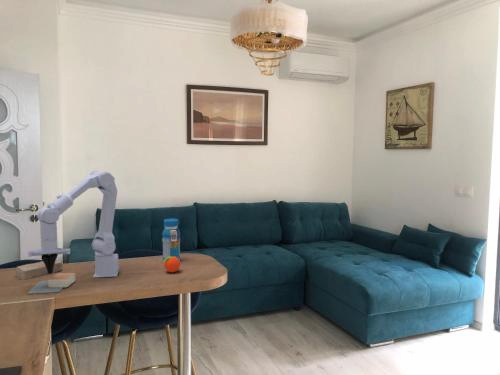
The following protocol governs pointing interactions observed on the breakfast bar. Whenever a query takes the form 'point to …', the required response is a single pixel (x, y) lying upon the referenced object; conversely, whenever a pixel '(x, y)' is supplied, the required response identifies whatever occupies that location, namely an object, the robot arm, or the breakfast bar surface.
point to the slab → (61, 280)
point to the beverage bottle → (171, 239)
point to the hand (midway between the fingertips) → (50, 273)
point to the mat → (44, 288)
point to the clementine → (171, 264)
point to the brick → (36, 270)
